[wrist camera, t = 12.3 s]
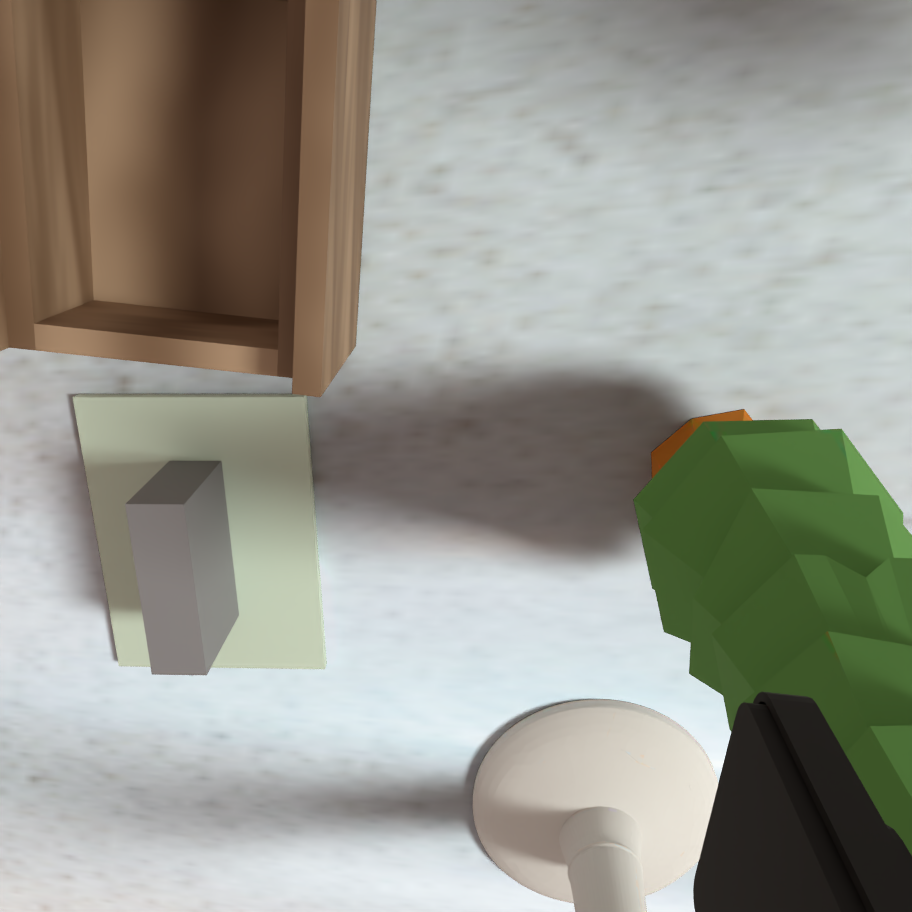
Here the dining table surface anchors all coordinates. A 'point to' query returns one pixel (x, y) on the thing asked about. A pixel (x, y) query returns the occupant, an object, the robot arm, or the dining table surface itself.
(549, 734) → the candlestick
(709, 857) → the robot arm
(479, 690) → the dining table surface
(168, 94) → the walnut box
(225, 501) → the cover plate
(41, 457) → the dining table surface
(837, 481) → the decorative tree
